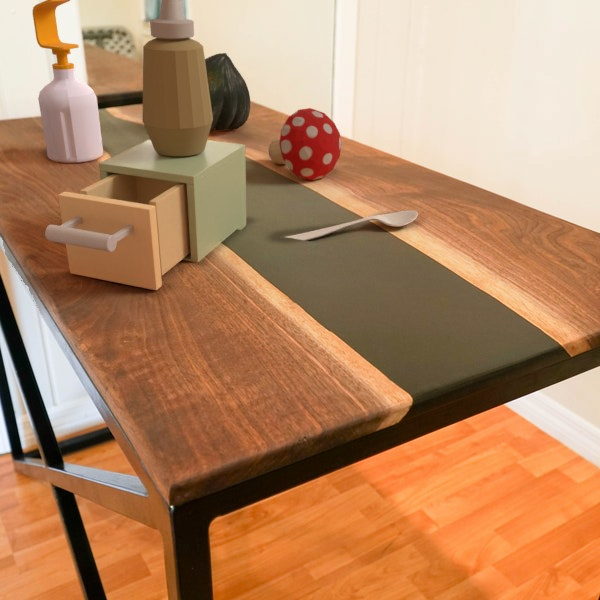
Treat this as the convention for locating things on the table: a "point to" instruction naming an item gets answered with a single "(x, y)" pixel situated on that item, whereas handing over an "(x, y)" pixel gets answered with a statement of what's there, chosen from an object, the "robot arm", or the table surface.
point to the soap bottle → (65, 98)
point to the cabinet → (196, 187)
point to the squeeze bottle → (175, 85)
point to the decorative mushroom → (307, 144)
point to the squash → (226, 93)
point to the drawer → (124, 229)
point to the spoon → (388, 219)
